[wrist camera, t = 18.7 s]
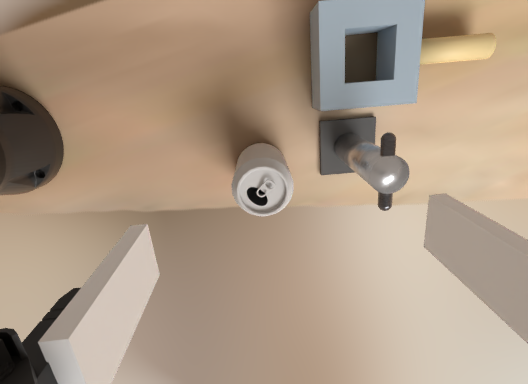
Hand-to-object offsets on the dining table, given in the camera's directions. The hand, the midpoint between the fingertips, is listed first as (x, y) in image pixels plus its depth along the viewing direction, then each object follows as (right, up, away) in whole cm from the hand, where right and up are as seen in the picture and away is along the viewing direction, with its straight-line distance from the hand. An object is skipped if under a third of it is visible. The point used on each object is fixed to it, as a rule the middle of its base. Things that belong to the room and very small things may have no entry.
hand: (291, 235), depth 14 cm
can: (-2, +6, +32) cm, 33 cm away
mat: (+11, +9, +32) cm, 35 cm away
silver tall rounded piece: (+11, +9, +31) cm, 34 cm away
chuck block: (+16, +21, +27) cm, 38 cm away
